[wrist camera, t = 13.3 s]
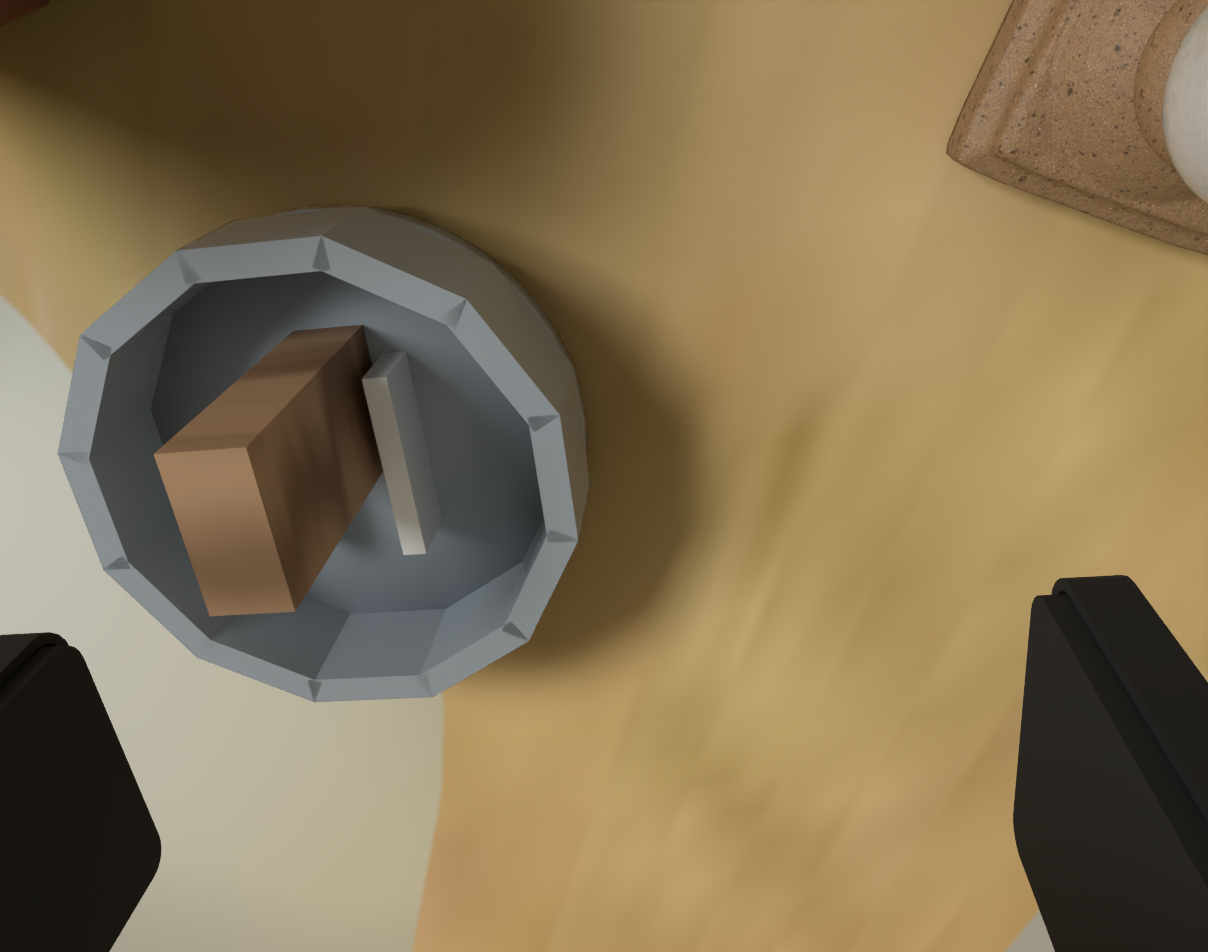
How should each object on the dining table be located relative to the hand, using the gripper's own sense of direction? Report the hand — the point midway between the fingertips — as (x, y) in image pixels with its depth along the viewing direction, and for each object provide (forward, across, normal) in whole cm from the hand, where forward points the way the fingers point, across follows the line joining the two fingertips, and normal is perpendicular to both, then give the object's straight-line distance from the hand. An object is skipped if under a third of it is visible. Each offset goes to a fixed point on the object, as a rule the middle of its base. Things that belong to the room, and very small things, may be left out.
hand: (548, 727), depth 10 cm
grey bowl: (+32, +14, +10) cm, 37 cm away
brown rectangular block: (+31, +14, +8) cm, 35 cm away
